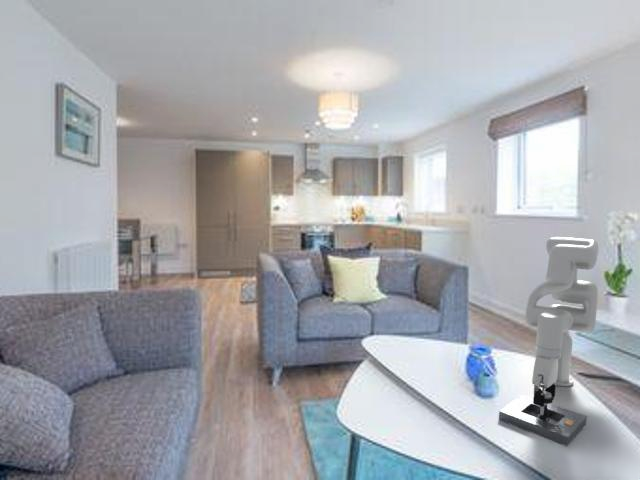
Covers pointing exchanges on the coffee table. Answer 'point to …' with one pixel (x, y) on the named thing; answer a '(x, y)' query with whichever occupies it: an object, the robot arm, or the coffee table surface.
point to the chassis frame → (559, 433)
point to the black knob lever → (545, 407)
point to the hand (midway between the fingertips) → (544, 400)
